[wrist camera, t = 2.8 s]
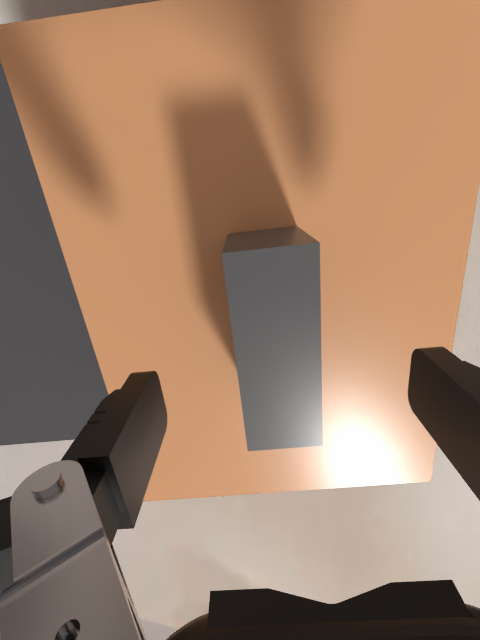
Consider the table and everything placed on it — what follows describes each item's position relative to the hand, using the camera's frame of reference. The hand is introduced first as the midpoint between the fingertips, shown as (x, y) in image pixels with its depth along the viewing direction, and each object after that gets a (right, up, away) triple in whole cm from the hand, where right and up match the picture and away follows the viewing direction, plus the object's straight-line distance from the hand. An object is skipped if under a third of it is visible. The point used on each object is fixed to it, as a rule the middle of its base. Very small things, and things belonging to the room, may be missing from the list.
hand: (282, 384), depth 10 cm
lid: (0, +3, +6) cm, 7 cm away
